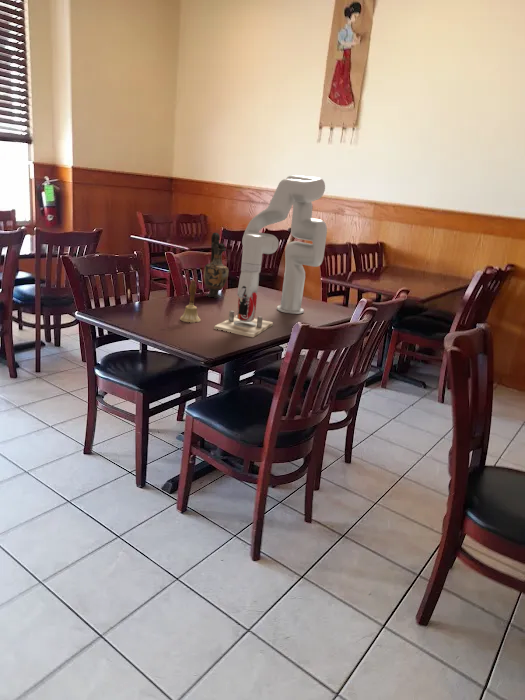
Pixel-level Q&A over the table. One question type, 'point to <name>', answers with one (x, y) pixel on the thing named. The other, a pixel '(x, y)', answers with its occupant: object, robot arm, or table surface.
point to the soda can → (248, 309)
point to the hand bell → (191, 307)
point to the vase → (215, 268)
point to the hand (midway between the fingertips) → (246, 312)
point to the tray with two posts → (243, 325)
